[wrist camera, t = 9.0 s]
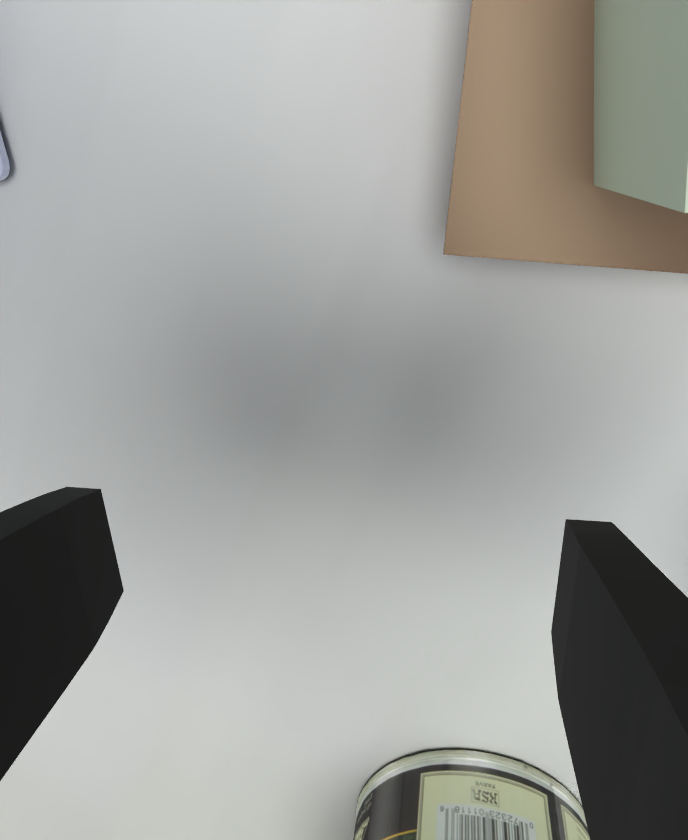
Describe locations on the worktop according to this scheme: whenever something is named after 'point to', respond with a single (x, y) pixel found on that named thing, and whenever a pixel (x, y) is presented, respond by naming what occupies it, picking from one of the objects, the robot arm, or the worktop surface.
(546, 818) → the coffee can
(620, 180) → the green block
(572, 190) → the walnut base
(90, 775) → the worktop surface
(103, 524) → the robot arm
